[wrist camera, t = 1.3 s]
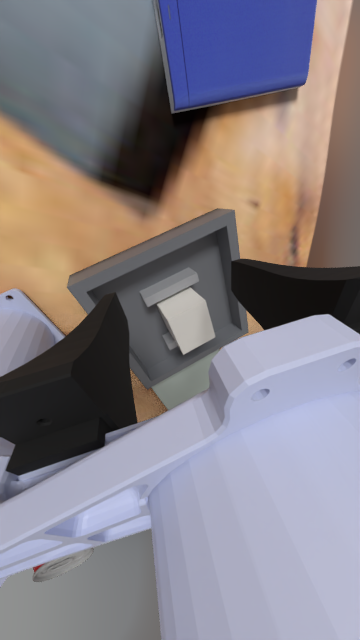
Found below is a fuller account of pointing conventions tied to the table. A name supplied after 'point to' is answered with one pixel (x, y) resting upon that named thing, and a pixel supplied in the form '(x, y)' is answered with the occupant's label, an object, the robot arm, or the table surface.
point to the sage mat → (185, 383)
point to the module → (187, 319)
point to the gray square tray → (170, 290)
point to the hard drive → (233, 48)
